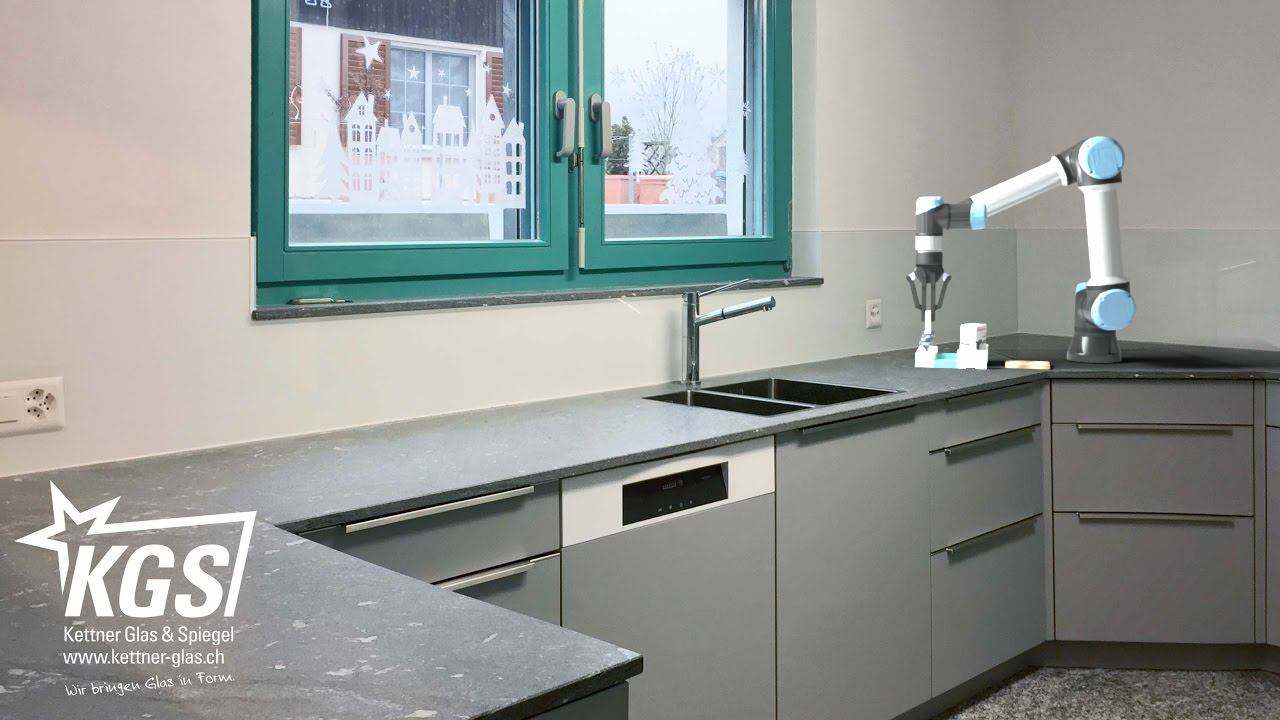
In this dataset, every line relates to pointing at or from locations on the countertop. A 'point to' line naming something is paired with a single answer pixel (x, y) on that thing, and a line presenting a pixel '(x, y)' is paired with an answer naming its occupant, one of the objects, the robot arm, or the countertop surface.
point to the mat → (1027, 364)
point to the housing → (952, 358)
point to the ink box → (973, 336)
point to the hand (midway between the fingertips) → (928, 333)
